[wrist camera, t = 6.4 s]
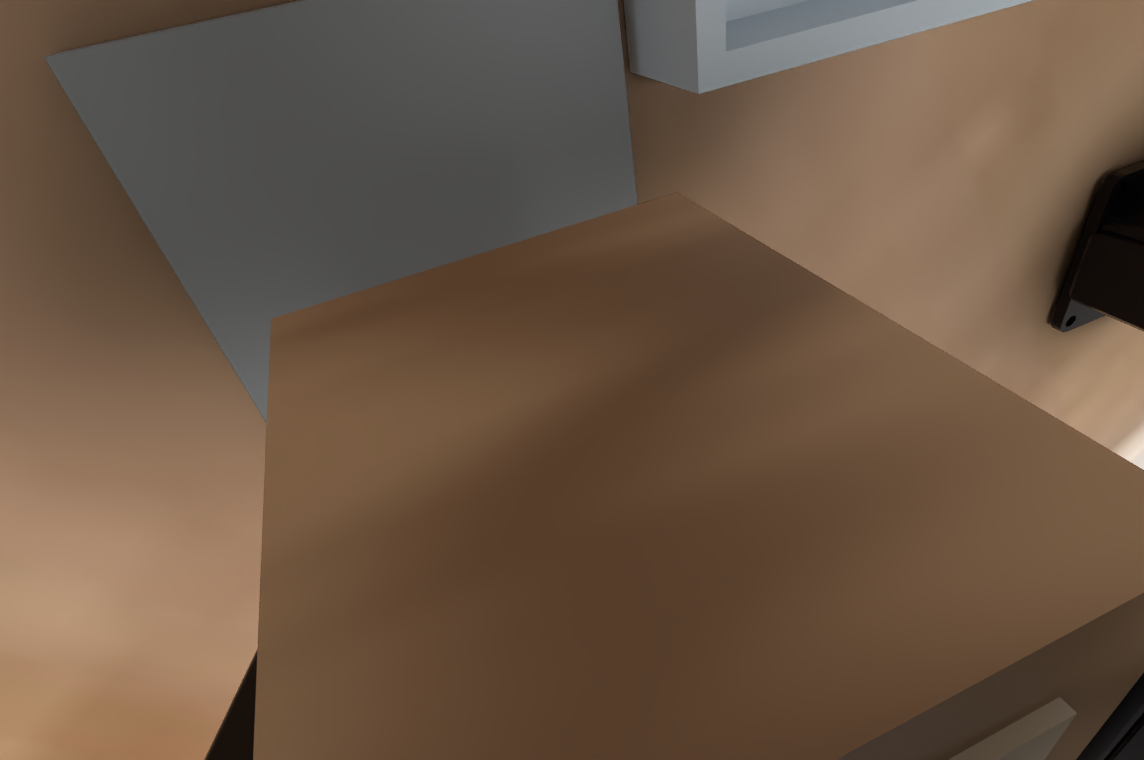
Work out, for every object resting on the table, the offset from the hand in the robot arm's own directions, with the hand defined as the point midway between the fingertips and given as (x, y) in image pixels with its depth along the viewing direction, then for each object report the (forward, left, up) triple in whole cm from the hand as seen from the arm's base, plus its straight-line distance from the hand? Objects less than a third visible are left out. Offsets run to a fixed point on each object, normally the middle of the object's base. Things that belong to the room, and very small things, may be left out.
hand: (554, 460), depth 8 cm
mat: (0, 0, -8) cm, 8 cm away
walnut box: (0, 0, -1) cm, 1 cm away
